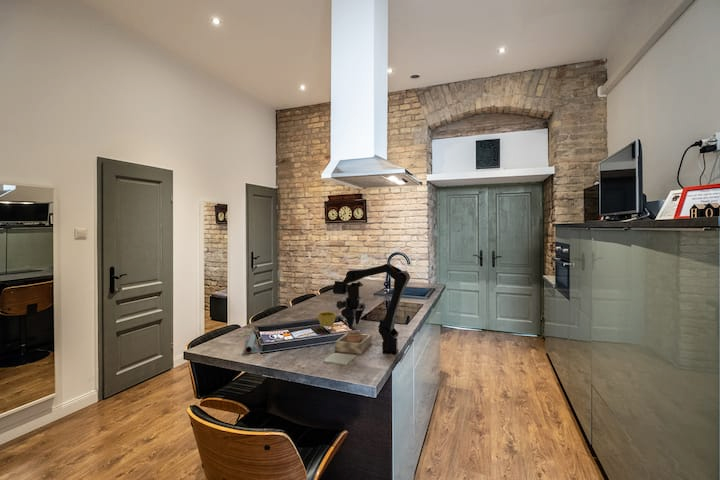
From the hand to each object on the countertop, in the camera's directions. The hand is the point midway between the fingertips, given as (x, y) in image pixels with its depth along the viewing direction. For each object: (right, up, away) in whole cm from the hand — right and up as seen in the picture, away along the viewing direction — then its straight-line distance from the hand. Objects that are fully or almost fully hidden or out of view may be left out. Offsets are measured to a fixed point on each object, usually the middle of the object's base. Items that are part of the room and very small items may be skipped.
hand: (353, 326), depth 169 cm
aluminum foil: (-51, -11, +5) cm, 53 cm away
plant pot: (-17, -11, +31) cm, 37 cm away
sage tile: (-6, -11, -17) cm, 21 cm away
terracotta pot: (0, -10, 0) cm, 10 cm away
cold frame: (0, -10, 0) cm, 10 cm away
